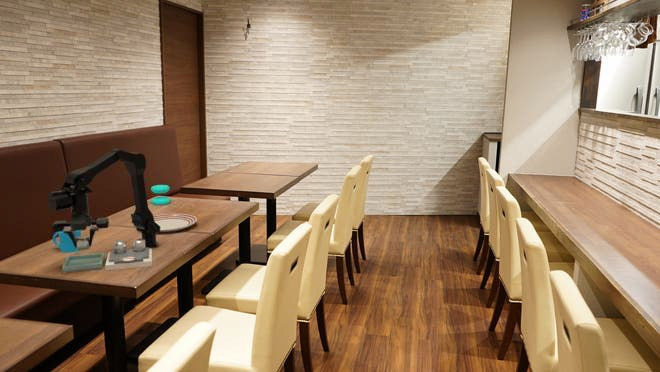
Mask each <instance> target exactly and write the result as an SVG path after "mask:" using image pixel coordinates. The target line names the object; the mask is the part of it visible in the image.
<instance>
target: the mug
mask: <svg viewBox="0 0 660 372" xmlns="http://www.w3.org/2000/svg"><path fill="white" fill-rule="evenodd" d="M63 231H64V230H63ZM63 231H61V232H54V235H53V236H52V242H53V244H54V245H55V246H56V247H58V248H59V250H60V251H59V252H60V253H65V254H68V253H76V252H79V251H81V250H77V248H75V246H74V244H73V242H72V240H71V238H70V237H69V235H68V234H67V233H63ZM57 236H58V241H57ZM75 236H76V238H77V237H81V236H82V230H76V231H75ZM58 242H59V243H58Z"/></svg>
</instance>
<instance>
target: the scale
mask: <svg viewBox="0 0 660 372" xmlns="http://www.w3.org/2000/svg"><path fill="white" fill-rule="evenodd" d="M105 261H106V262H105V266H104V267H105V271H106V272H107V271H116V270H126V269H136V268H148V267H153V248H149V247H146V250H145V251H142V252H134V251H133V248H126V252H125V253H121V254H115V253H114V249H111V251H110V252H108V253H107V258H106V260H105Z"/></svg>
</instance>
